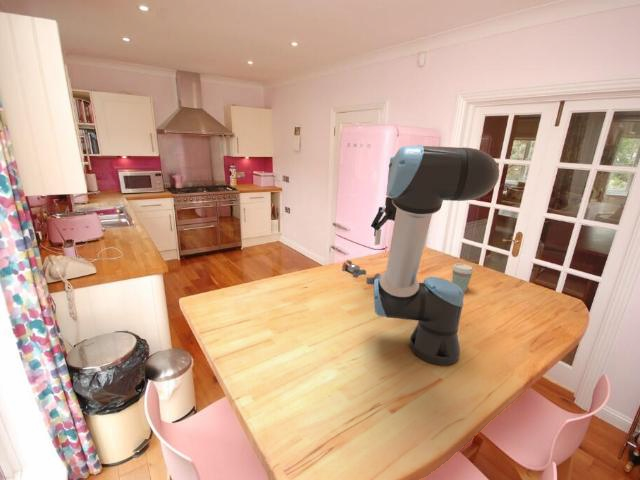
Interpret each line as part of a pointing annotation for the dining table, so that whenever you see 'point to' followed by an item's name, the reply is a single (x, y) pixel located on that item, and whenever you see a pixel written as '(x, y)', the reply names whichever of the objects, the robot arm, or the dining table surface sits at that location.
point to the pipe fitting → (358, 271)
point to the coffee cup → (462, 275)
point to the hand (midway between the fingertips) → (390, 248)
